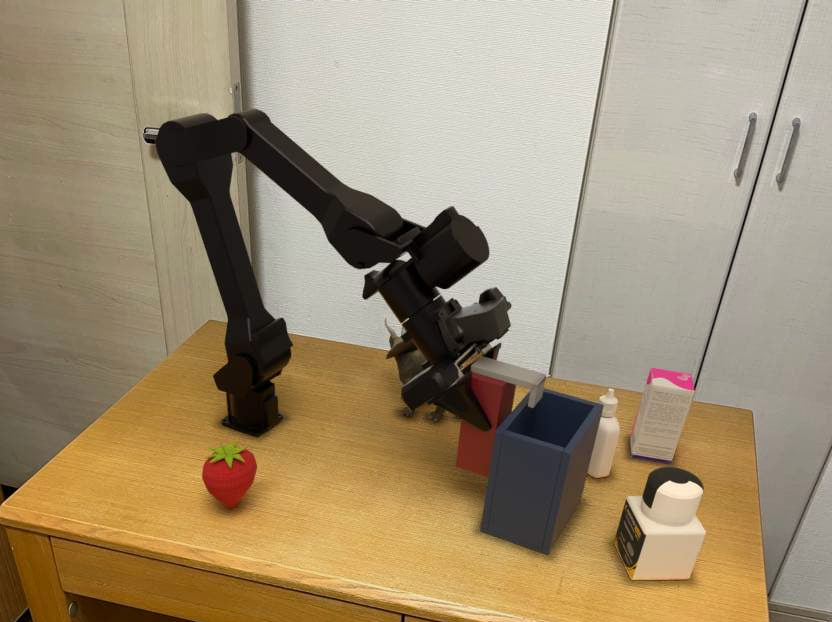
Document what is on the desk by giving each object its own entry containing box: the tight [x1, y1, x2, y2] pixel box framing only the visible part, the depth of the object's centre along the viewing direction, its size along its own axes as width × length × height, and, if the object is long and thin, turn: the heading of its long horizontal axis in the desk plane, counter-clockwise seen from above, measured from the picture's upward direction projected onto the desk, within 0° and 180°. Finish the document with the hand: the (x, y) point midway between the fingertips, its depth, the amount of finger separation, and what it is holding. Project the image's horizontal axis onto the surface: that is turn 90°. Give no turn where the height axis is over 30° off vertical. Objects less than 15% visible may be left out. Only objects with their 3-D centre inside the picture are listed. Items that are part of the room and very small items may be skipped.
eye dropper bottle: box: [587, 388, 621, 479], centre depth 107 cm, size 4×6×12 cm
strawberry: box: [201, 439, 258, 509], centre depth 96 cm, size 6×8×10 cm
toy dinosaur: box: [384, 318, 463, 422], centre depth 117 cm, size 22×8×11 cm, turn 58°
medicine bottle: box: [613, 466, 707, 581], centre depth 92 cm, size 7×7×12 cm
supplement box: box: [629, 367, 696, 464], centre depth 111 cm, size 6×6×12 cm
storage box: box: [479, 387, 604, 556], centre depth 97 cm, size 9×13×14 cm
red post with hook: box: [455, 356, 547, 478], centre depth 95 cm, size 8×5×13 cm, turn 63°
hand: (497, 420), depth 96 cm, fingers closed on red post with hook, 5 cm apart
